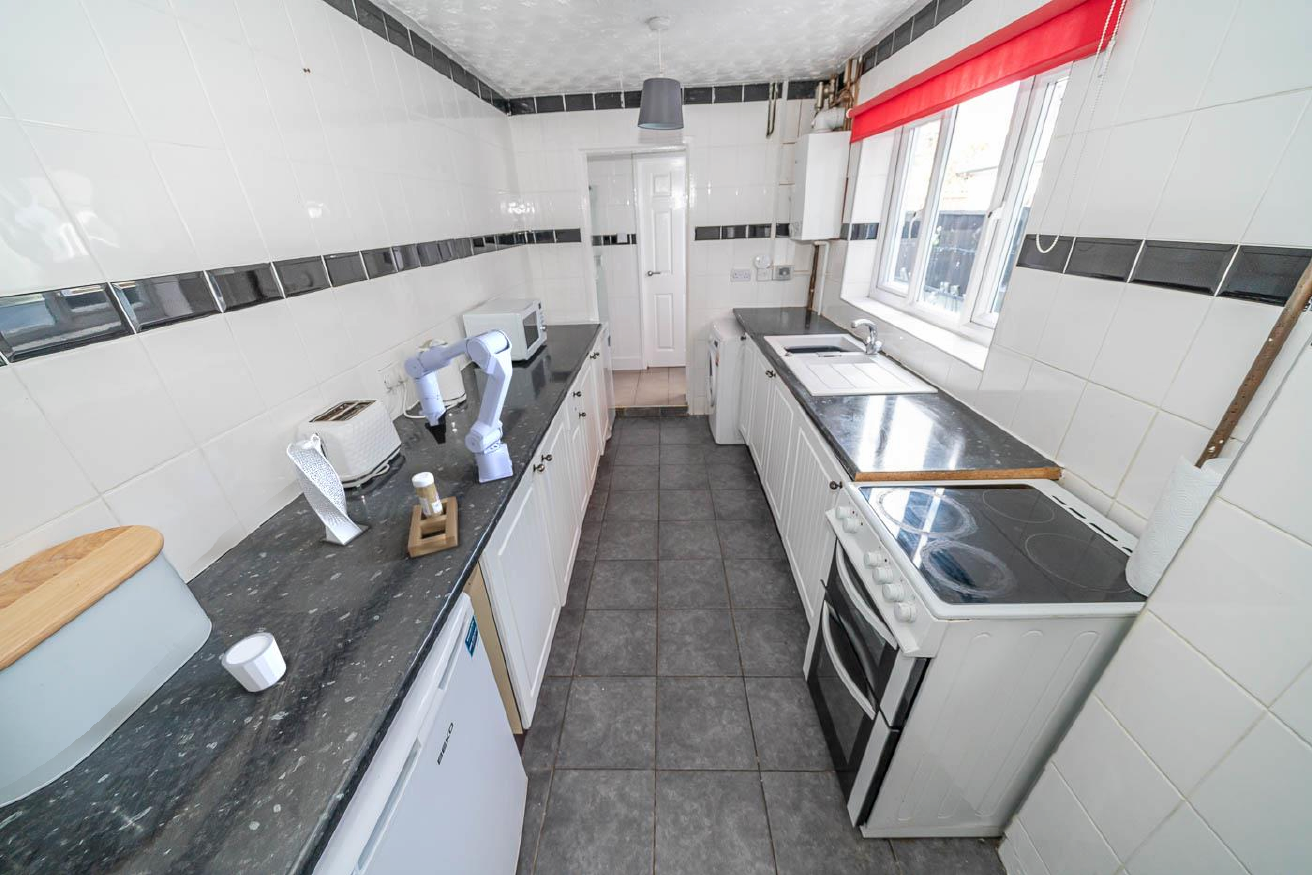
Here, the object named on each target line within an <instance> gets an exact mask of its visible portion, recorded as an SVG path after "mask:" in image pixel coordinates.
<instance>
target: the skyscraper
mask: <svg viewBox="0 0 1312 875" xmlns="http://www.w3.org/2000/svg"><path fill="white" fill-rule="evenodd" d="M314 437H315V438H316V439H314ZM321 444H322V443H321V438H320V436H319V435H317V434H315V433H313V434H311V436H310V439H303V440H300V441H297V442H296V443H292V442H290V443H289V444H288V445H287V447H286V450H285V454H286V456H287V457H288V458H289V459H290V460H291V461H292V462H293V466H294V469H295V473H296V476H297V480H298V484H299V485H300V488H301V490H302V493H303V495H304V496H305V498H306V500H307V501H308V503H309V505H310V506H311V508H312V510H313V511H314V512H315V514H316V515H317V517H318V518H319V519H320V520H321V522H322V523H323V524H324V526H325V533H326V536H325V537H323V538H322V540H323V542H329V543H332V544H337V545H340V546H346V545H347V544H348V543H350V542H351V541H353V540H354V539H355V538H357V537H358V536H360V535H361V534H362V533H364V532H365V531H367V530H368V529H370V527H369V526H368V525H363V524H360V523H359V524H358V523H355V522H354V521H352V519H350V517H349V516H348V508H347V500H346V494H345V490H344V487H343V484H342V481H341V479H340V477H339V475H338V473H337V472H336V469H335V468H334V467H333V465H332V464H331V463H330V461H329V459H327V457H326V456H325V455H324V454H323V453H322V450H321V448H322V446H321Z"/></svg>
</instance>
